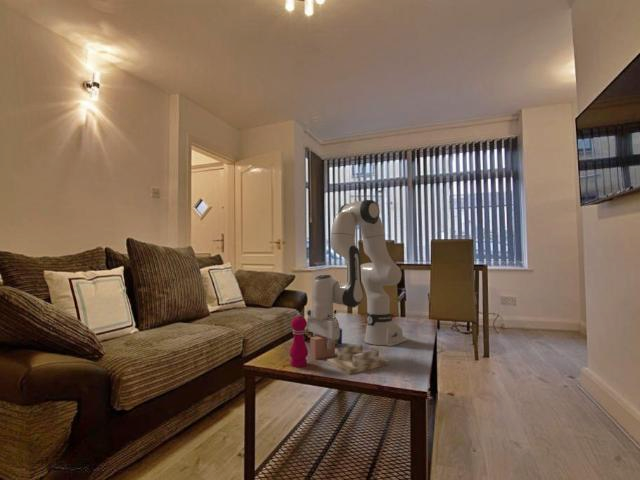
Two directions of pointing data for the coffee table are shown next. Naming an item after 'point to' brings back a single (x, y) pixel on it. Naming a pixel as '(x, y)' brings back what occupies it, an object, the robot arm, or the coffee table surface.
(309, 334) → the robot toy
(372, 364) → the bookend rack
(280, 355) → the coffee table surface
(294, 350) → the pepper mill
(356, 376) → the coffee table surface
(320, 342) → the upright pink tile
